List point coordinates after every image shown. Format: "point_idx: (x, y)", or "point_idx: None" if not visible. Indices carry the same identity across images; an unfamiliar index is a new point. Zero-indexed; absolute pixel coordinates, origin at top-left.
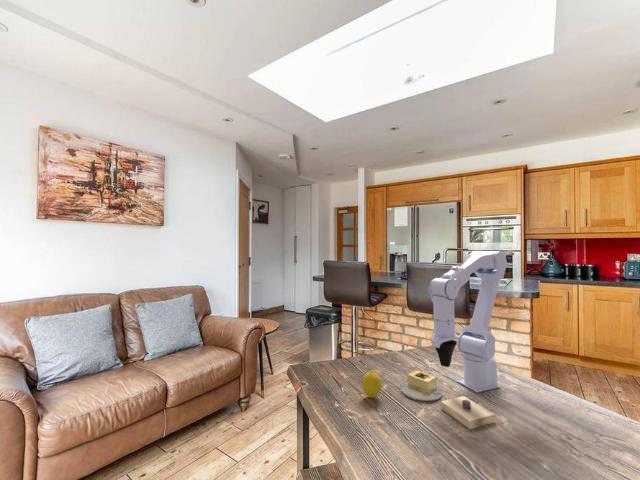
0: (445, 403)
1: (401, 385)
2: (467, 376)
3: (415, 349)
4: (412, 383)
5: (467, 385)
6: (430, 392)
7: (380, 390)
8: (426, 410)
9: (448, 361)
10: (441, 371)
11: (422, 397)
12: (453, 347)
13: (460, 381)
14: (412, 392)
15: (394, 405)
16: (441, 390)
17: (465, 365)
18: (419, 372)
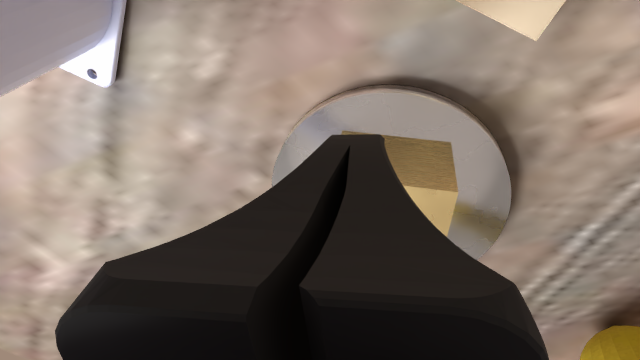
0: (553, 2)
1: None
2: (72, 29)
3: (3, 345)
4: None
5: (115, 12)
6: (423, 144)
7: (629, 339)
8: (602, 88)
9: (388, 164)
10: (81, 195)
11: (495, 158)
12: (263, 252)
13: (105, 69)
14: (469, 218)
15: (635, 234)
16: (325, 108)
17: (12, 73)
18: None
